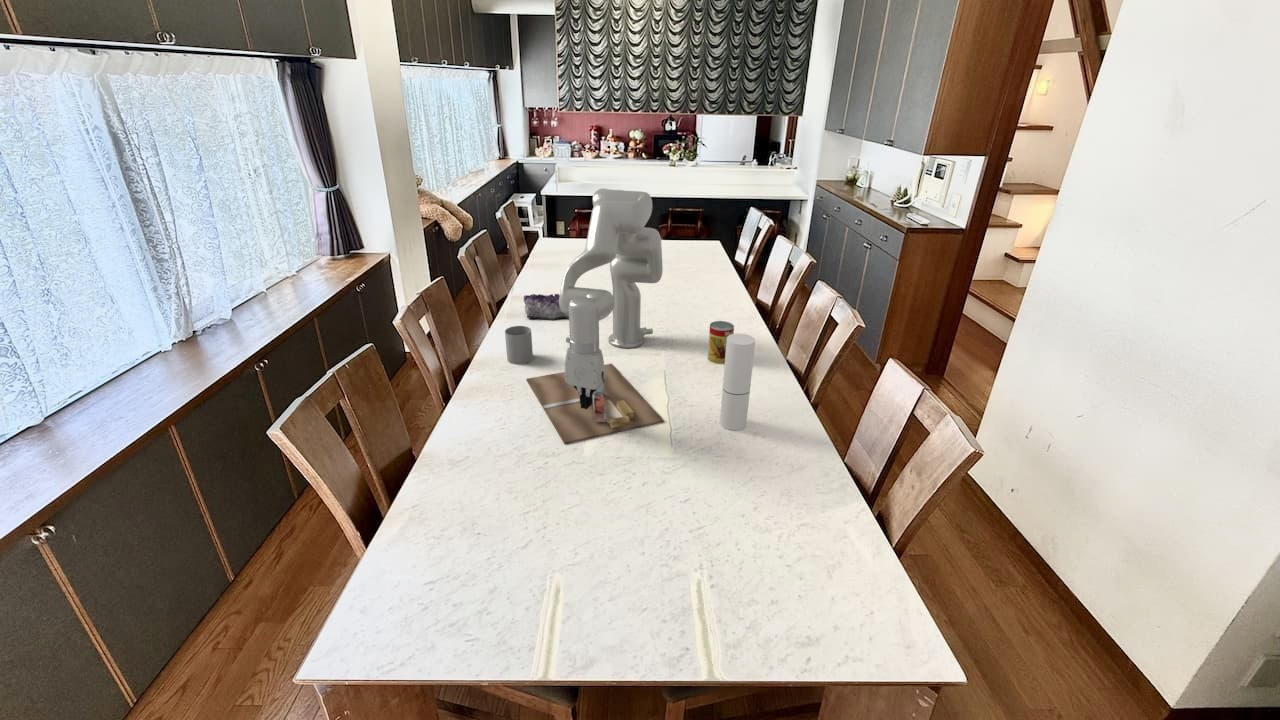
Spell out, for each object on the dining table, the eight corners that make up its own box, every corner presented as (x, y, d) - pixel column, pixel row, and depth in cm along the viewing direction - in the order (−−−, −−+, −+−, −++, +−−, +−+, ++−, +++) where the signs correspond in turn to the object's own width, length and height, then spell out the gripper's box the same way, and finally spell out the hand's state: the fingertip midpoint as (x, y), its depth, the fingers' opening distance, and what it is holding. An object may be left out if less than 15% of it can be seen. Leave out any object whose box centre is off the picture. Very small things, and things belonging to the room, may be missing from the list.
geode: (576, 310, 239) (576, 288, 233) (573, 325, 229) (573, 301, 224) (525, 307, 238) (524, 285, 233) (520, 322, 229) (519, 298, 223)
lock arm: (590, 392, 175) (589, 376, 173) (603, 392, 175) (603, 376, 173) (592, 423, 160) (592, 406, 157) (607, 422, 160) (607, 405, 158)
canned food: (730, 365, 195) (733, 331, 190) (706, 362, 197) (708, 328, 192) (731, 355, 202) (734, 322, 197) (708, 352, 204) (711, 320, 199)
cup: (527, 365, 193) (525, 336, 188) (503, 362, 194) (500, 334, 190) (536, 354, 200) (534, 327, 196) (513, 352, 202) (511, 324, 197)
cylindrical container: (748, 419, 164) (757, 335, 154) (743, 432, 158) (752, 346, 148) (722, 414, 166) (729, 331, 156) (717, 427, 160) (724, 342, 150)
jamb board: (611, 365, 194) (611, 357, 193) (663, 421, 163) (663, 413, 161) (526, 380, 183) (526, 372, 182) (564, 444, 152) (564, 435, 151)
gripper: (552, 345, 154) (555, 407, 162) (604, 355, 149) (604, 419, 157) (566, 334, 160) (568, 395, 168) (617, 344, 155) (617, 406, 163)
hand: (586, 406), depth 163 cm, fingers closed
